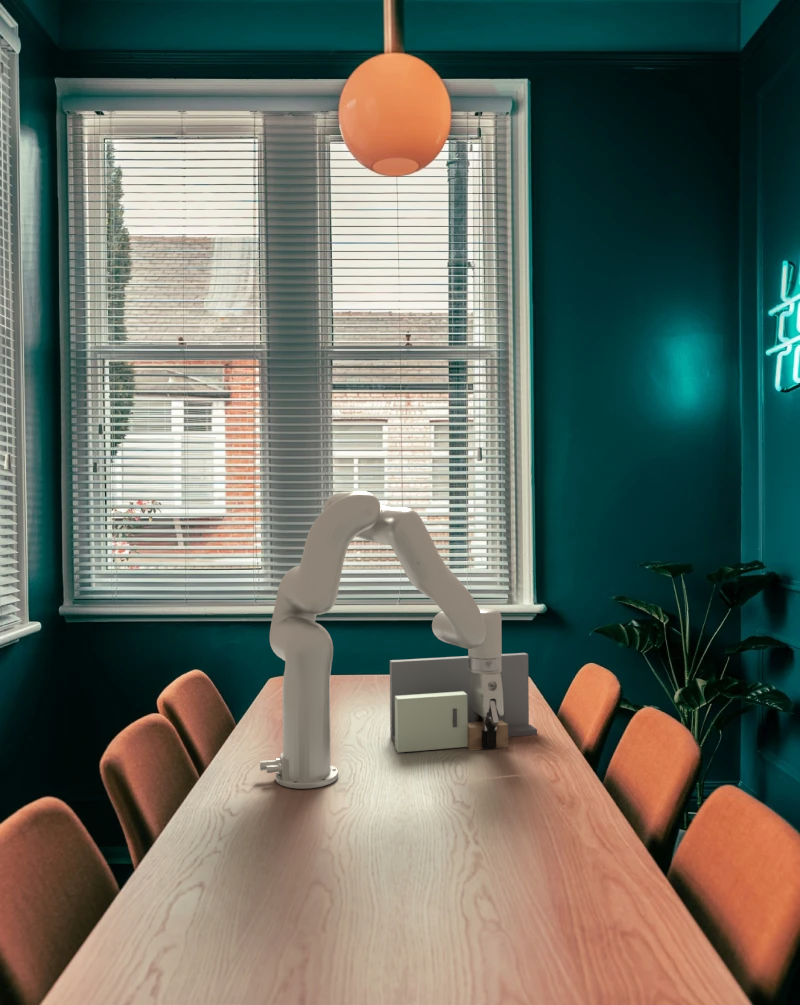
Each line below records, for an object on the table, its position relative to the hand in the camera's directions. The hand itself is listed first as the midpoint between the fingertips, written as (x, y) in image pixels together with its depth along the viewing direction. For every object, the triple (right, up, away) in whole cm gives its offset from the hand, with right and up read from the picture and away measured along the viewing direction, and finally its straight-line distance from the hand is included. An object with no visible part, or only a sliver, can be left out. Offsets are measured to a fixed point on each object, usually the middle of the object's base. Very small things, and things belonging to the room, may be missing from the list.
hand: (485, 744), depth 174 cm
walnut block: (0, 0, 0) cm, 0 cm away
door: (-12, 0, -2) cm, 12 cm away
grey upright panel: (-4, 0, +8) cm, 9 cm away
